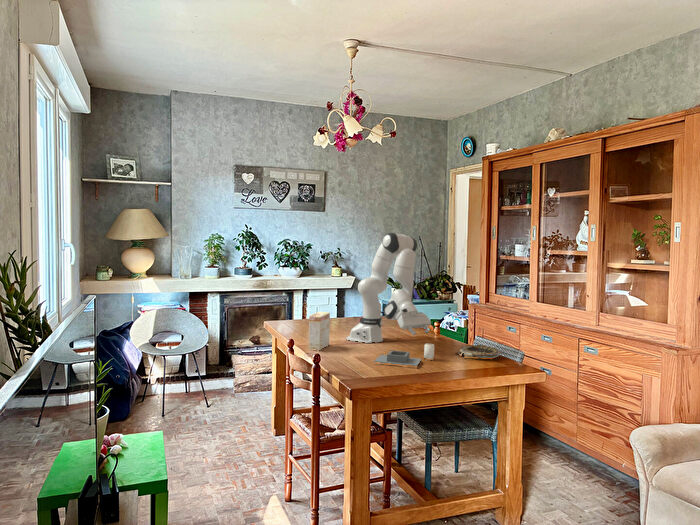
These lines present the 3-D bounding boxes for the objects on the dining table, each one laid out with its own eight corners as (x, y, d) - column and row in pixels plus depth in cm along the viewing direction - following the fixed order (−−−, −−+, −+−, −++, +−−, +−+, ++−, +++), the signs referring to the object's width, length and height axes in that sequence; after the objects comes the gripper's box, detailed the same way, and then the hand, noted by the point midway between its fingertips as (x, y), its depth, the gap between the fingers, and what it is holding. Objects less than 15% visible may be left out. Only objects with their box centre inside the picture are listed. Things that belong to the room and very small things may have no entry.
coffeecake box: (318, 344, 303) (319, 311, 302) (329, 345, 301) (330, 312, 299) (308, 349, 289) (308, 315, 288) (319, 351, 287) (320, 316, 285)
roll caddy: (374, 364, 263) (374, 354, 263) (380, 357, 276) (380, 348, 276) (417, 368, 257) (417, 358, 256) (421, 361, 270) (421, 352, 270)
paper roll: (423, 360, 273) (423, 345, 272) (424, 357, 278) (425, 343, 277) (433, 361, 272) (433, 346, 271) (434, 358, 276) (435, 343, 276)
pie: (476, 348, 304) (477, 340, 303) (517, 359, 282) (517, 350, 282) (444, 355, 286) (445, 346, 286) (485, 367, 265) (486, 357, 265)
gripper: (420, 315, 295) (432, 335, 287) (392, 317, 283) (404, 338, 275) (426, 308, 291) (438, 328, 283) (398, 310, 279) (409, 331, 271)
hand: (421, 333), depth 279 cm, fingers open, 8 cm apart
